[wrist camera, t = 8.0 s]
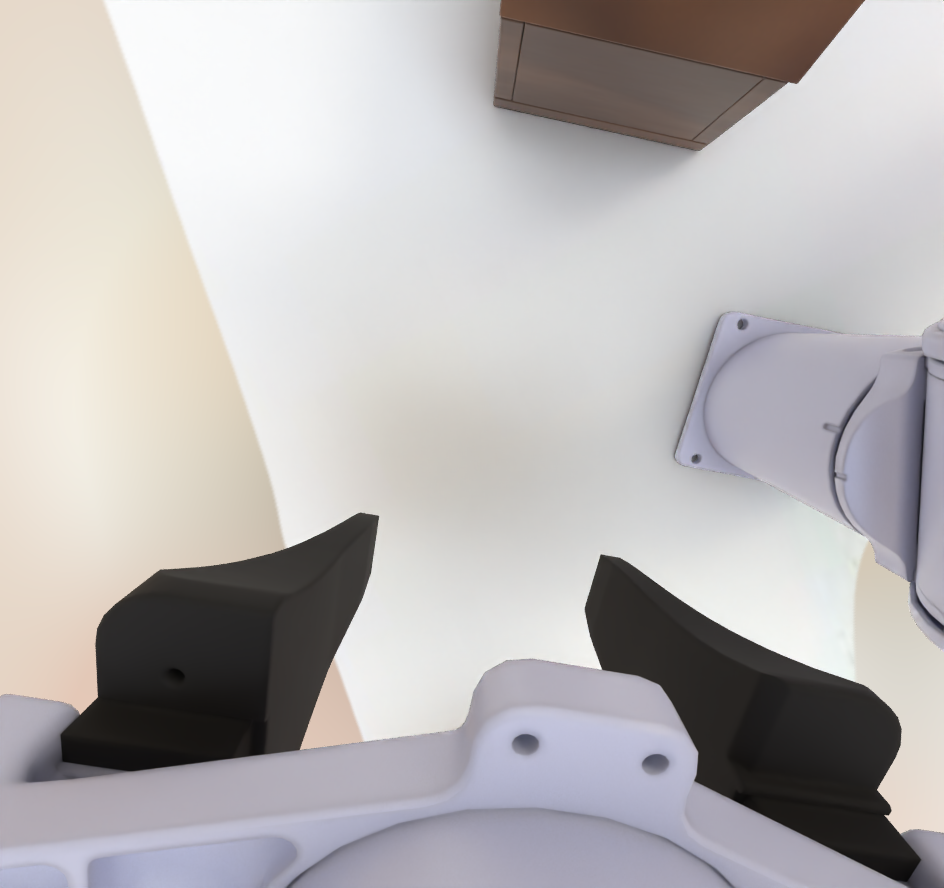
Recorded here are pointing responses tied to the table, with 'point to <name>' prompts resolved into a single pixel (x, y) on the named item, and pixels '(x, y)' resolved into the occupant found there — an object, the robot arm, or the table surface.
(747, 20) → the bin lid
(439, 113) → the table surface
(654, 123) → the bin
